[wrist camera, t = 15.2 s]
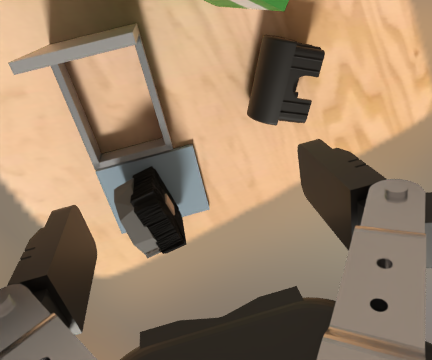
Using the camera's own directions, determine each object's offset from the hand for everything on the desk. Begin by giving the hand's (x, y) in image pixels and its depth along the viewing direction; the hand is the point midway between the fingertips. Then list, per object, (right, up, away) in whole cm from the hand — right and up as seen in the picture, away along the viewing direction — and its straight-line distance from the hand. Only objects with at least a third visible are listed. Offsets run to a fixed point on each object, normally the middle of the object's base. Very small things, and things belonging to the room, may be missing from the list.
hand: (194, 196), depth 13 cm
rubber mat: (-8, -1, +40) cm, 41 cm away
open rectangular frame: (-12, +11, +33) cm, 37 cm away
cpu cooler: (-9, -1, +39) cm, 40 cm away
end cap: (+9, +15, +36) cm, 39 cm away
